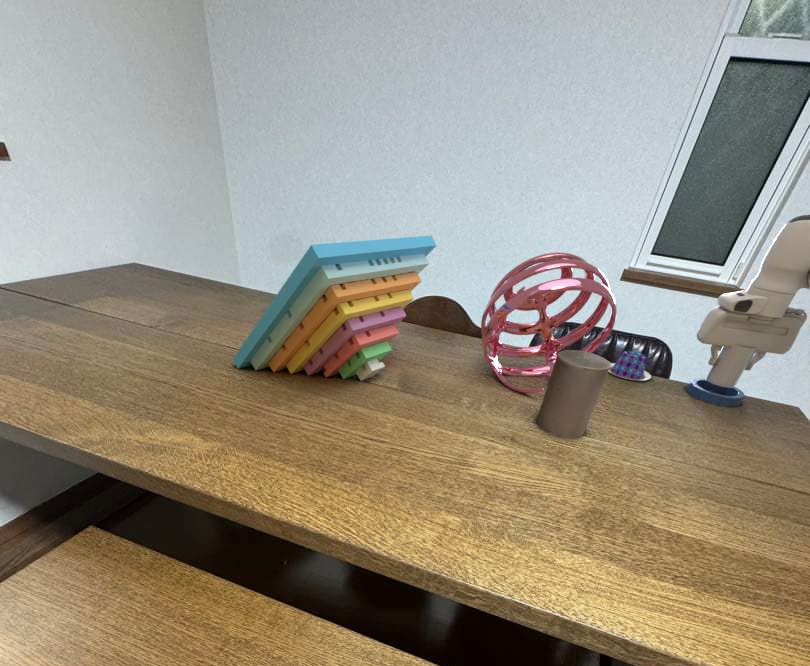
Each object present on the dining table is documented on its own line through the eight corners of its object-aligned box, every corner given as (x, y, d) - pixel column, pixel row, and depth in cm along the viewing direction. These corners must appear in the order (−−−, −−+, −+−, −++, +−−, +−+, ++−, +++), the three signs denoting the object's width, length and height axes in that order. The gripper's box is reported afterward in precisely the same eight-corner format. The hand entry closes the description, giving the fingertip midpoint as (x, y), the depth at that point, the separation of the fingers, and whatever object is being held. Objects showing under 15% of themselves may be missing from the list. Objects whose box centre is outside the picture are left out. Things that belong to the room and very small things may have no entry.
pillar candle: (529, 415, 93) (552, 340, 84) (574, 418, 95) (601, 344, 85) (544, 438, 86) (570, 358, 76) (592, 441, 87) (624, 363, 78)
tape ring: (725, 391, 117) (730, 382, 115) (747, 411, 108) (753, 401, 106) (679, 385, 117) (683, 375, 116) (697, 404, 108) (702, 394, 106)
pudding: (653, 375, 121) (662, 355, 118) (645, 387, 113) (654, 366, 110) (609, 362, 126) (617, 343, 122) (598, 373, 118) (605, 353, 114)
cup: (727, 379, 112) (748, 341, 107) (739, 389, 108) (762, 350, 102) (701, 375, 113) (721, 338, 107) (712, 385, 108) (733, 346, 102)
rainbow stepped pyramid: (277, 431, 100) (368, 347, 74) (232, 359, 97) (311, 244, 71) (375, 389, 123) (471, 314, 97) (341, 330, 120) (431, 235, 94)
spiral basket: (652, 326, 80) (621, 207, 87) (494, 350, 83) (475, 233, 89) (604, 409, 107) (583, 313, 114) (485, 424, 110) (472, 330, 116)
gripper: (803, 306, 101) (765, 368, 110) (712, 294, 101) (681, 357, 110) (820, 314, 96) (778, 378, 105) (724, 301, 96) (691, 365, 105)
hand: (728, 367), depth 108 cm, fingers closed on cup, 6 cm apart
